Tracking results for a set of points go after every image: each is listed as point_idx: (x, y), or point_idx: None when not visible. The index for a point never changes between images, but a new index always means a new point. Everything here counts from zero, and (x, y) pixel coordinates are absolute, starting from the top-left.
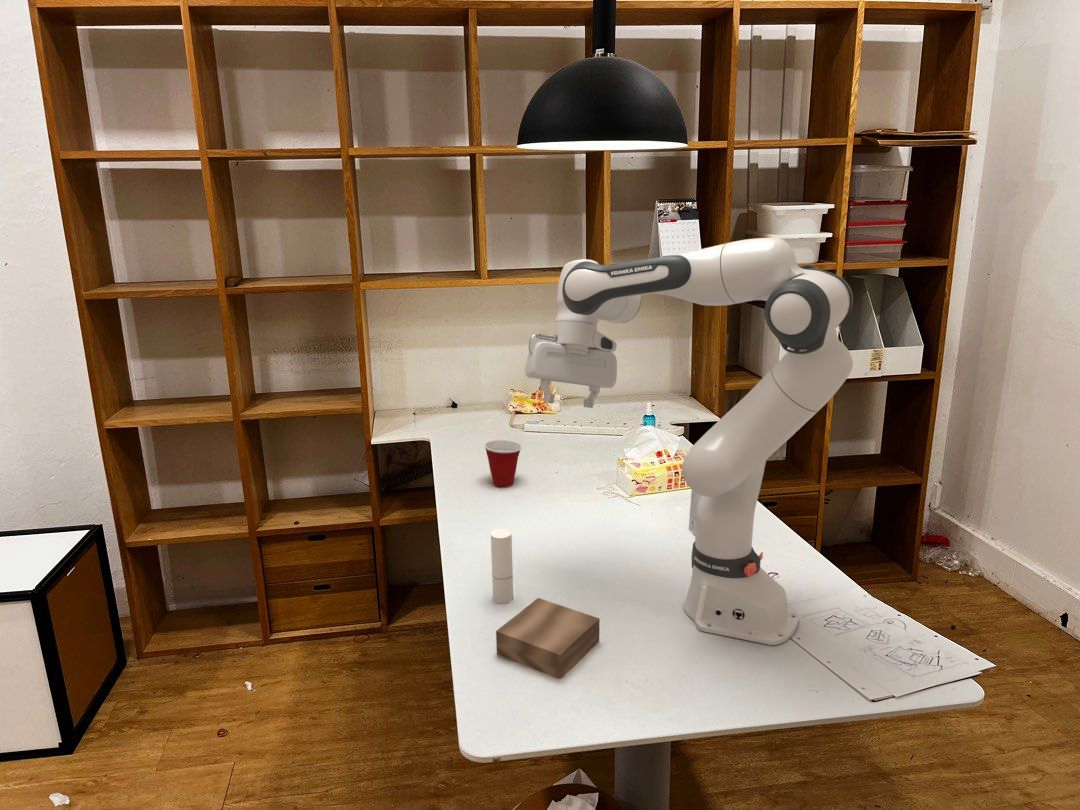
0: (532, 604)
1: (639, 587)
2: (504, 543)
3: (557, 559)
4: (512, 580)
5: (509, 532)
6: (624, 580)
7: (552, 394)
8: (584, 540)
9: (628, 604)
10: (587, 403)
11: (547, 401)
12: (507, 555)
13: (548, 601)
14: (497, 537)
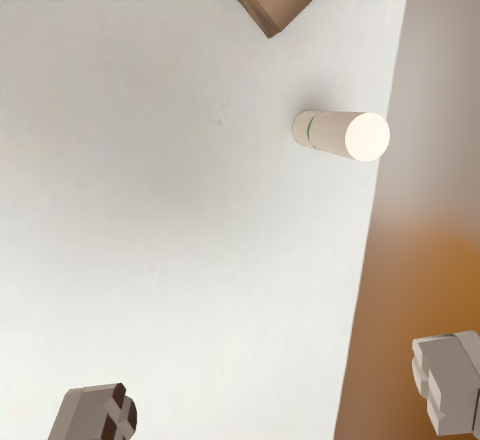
0: (297, 8)
1: (52, 101)
2: (360, 112)
3: (186, 242)
4: (306, 122)
5: (349, 137)
6: (76, 136)
7: (464, 389)
8: (118, 304)
9: (91, 43)
10: (111, 407)
11: (474, 333)
12: (340, 113)
13: (266, 10)
14: (380, 118)
